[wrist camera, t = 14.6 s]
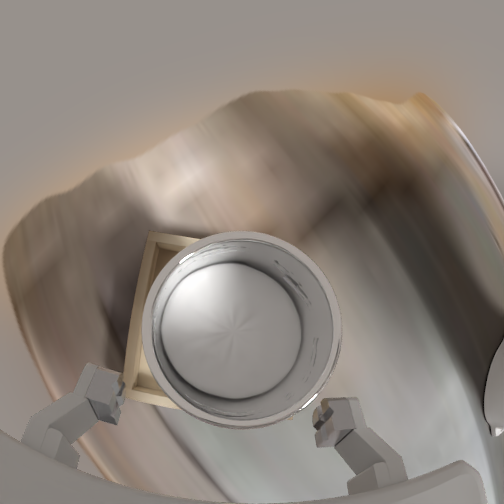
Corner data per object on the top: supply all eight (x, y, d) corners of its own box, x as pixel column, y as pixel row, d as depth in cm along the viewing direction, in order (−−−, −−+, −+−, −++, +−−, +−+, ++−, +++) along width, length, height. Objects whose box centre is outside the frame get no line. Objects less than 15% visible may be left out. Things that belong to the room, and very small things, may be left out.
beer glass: (206, 274, 24) (211, 187, 10) (276, 317, 24) (377, 291, 10) (163, 344, 22) (96, 360, 7) (235, 387, 22) (284, 464, 7)
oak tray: (301, 265, 26) (311, 258, 24) (283, 411, 22) (292, 419, 20) (154, 240, 24) (149, 230, 22) (129, 390, 20) (121, 396, 18)
